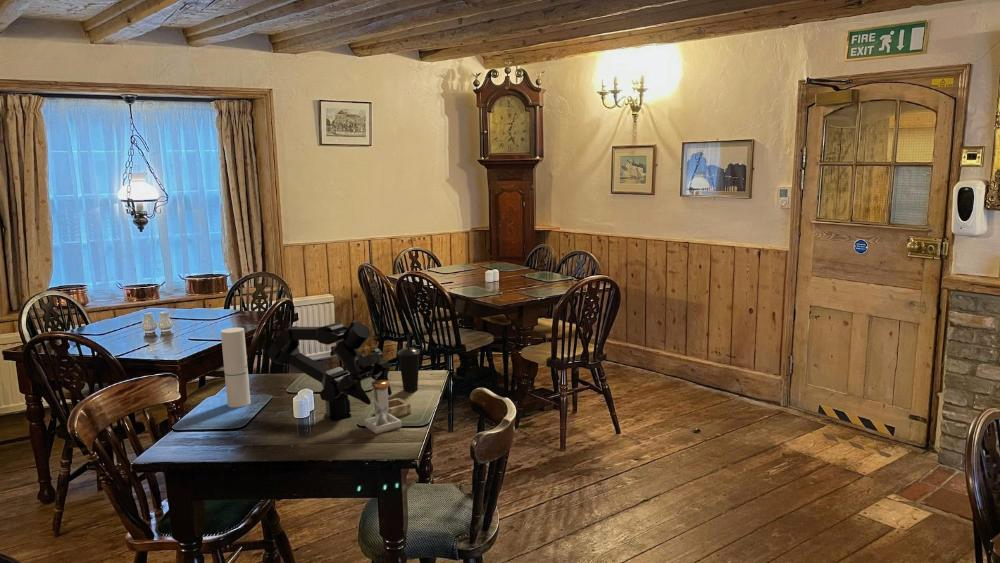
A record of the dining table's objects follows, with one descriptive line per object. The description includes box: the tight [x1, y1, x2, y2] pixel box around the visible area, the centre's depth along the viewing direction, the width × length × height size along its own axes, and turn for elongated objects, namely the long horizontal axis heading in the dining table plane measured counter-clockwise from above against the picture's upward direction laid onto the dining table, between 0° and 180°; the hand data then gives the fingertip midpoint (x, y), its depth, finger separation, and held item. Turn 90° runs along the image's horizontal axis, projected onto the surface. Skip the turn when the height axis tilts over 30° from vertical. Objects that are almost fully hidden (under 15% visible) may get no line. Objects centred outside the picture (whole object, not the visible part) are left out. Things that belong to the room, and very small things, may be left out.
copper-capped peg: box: [371, 380, 390, 426], centre depth 210 cm, size 5×5×13 cm
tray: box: [363, 414, 403, 435], centre depth 211 cm, size 8×8×2 cm
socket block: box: [388, 397, 412, 418], centre depth 222 cm, size 8×8×3 cm
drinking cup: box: [397, 332, 421, 393], centre depth 243 cm, size 8×8×20 cm
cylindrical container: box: [220, 327, 252, 408], centre depth 232 cm, size 7×7×25 cm
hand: (380, 399), depth 210 cm, fingers open, 9 cm apart
